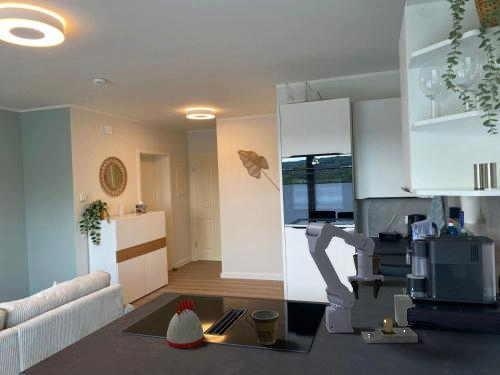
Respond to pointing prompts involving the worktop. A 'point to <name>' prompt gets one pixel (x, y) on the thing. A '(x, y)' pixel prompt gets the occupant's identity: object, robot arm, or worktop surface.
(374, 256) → the plant pot
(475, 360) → the worktop surface
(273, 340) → the ceramic cup
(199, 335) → the white red bobble hat
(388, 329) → the brass pin
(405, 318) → the small box
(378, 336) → the notched mounting plate
